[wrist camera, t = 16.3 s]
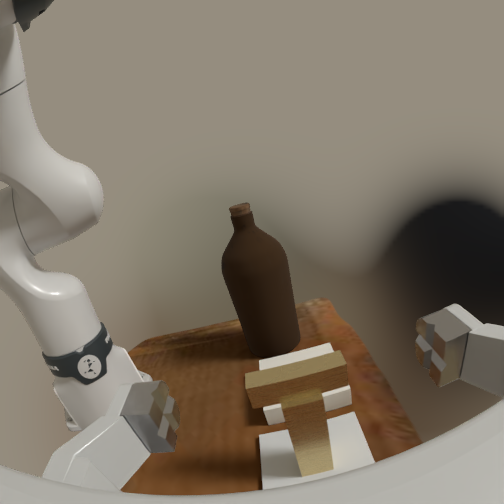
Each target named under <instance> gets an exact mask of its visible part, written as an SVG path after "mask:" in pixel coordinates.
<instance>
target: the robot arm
mask: <svg viewBox="0 0 504 504" xmlns="http://www.w3.org/2000/svg"><path fill="white" fill-rule="evenodd" d="M53 1H54V0H0V181H2V182H4V183H6V184H8V185H9V186H8V187H6V188H4V189H2V190H0V289H1V290H2V291H4V292H5V293H6V294H7V295H8V296H9V297H10V299H11V300H12V301H13V302H14V303H15V305H16V306H17V307H18V308H19V310H20V312H21V313H22V315H23V316H24V318H25V320H26V322H27V323H28V325H29V327H30V329H31V330H32V332H33V334H34V336H35V338H36V340H37V341H38V343H39V345H40V347H41V349H42V350H43V352H42V355H43V357H44V359H45V362H46V364H47V366H48V367H49V368H50V370H51V372H52V373H53V374H54V375H55V380H54V382H53V387H54V388H53V389H54V392H55V393H56V395H57V397H58V398H59V400H60V401H61V403H62V404H63V406H64V409H65V417H66V424H67V427H68V429H69V430H70V431H81V430H83V431H82V432H80V433H79V434H78V435H76V436H75V437H74V438H72V439H71V440H70V441H68V442H67V443H66V444H64V445H63V446H61V447H60V448H59V449H57V450H56V451H55V452H54V453H53V455H52V457H51V459H50V461H49V463H48V465H47V467H46V469H45V471H44V474H43V475H42V478H41V477H38V476H34V475H31V474H27V473H24V472H21V471H18V470H15V469H12V468H8V467H6V466H3V465H0V504H504V326H499V325H493V324H488V323H487V324H485V325H483V324H482V323H481V322H480V321H479V320H477V319H476V318H475V317H474V316H472V315H471V314H470V313H468V312H467V311H466V310H465V309H463V308H462V307H461V306H460V305H458V304H453V305H450V306H449V307H446V308H444V309H442V310H440V311H437V312H435V313H432V314H430V315H427V316H425V317H422V318H420V319H418V321H417V324H416V331H417V332H418V333H419V334H420V335H419V336H418V338H417V340H416V341H415V350H416V355H417V358H418V361H419V362H420V364H421V365H422V367H424V368H427V369H430V373H429V376H430V377H431V378H432V380H433V381H434V382H435V383H436V385H437V386H438V387H441V386H443V385H446V384H448V383H450V382H452V381H454V380H456V379H459V378H460V379H461V380H463V381H465V382H468V383H470V384H472V385H474V386H477V387H479V388H481V389H483V390H486V391H488V392H490V393H493V394H495V395H497V396H500V397H502V399H501V401H500V402H498V403H497V404H495V405H494V406H492V407H490V408H489V409H487V410H486V411H484V412H482V413H481V414H479V415H477V416H475V417H474V418H472V419H470V420H469V421H467V422H465V423H463V424H462V425H459V426H458V427H456V428H454V429H452V430H450V431H448V432H446V433H444V434H442V435H440V436H438V437H436V438H434V439H432V440H430V441H428V442H425V443H423V444H421V445H419V446H416V447H414V448H412V449H409V450H407V451H405V452H402V453H400V454H397V455H395V456H392V457H389V458H387V459H384V460H381V461H379V462H376V463H373V464H370V465H367V466H364V467H361V468H358V469H354V470H351V471H348V472H344V473H341V474H337V475H333V476H330V477H326V478H322V479H317V480H313V481H309V482H304V483H299V484H294V485H289V486H283V487H278V488H271V489H265V490H257V491H249V492H240V493H229V494H215V495H147V494H133V493H123V492H122V491H121V490H120V489H121V488H122V487H123V486H124V485H125V484H126V482H127V481H128V480H129V479H130V478H131V477H132V475H133V474H134V473H135V472H136V471H137V470H138V468H139V467H140V466H141V465H142V464H143V463H144V461H145V460H146V459H147V458H148V457H149V455H150V453H159V452H174V451H175V445H176V440H177V435H176V433H175V432H174V431H175V430H176V429H177V428H178V427H179V424H180V411H179V408H178V405H177V403H176V401H175V399H173V398H172V397H170V396H168V393H169V388H168V386H167V385H166V383H165V382H164V381H152V378H151V377H150V375H148V374H146V373H143V372H141V371H138V370H137V369H136V367H135V365H134V364H133V362H132V360H131V358H130V357H129V355H128V353H127V352H126V350H125V349H123V348H121V347H119V346H115V345H113V342H112V340H111V338H110V335H109V333H108V331H107V329H106V328H105V326H104V324H103V323H102V322H100V321H99V319H98V317H97V315H96V313H95V310H94V308H93V306H92V303H91V301H90V299H89V296H88V294H87V291H86V289H85V287H84V285H83V283H82V282H81V281H80V280H79V279H78V278H76V277H75V276H73V275H70V274H67V273H61V272H51V271H46V270H44V269H42V268H41V267H40V266H39V265H38V264H37V262H36V260H35V258H34V256H35V255H36V254H38V253H41V252H43V251H45V250H48V249H50V248H52V247H55V246H57V245H60V244H62V243H64V242H67V241H69V240H72V239H74V238H75V237H77V236H79V235H80V234H82V233H83V232H85V231H86V230H88V229H90V228H91V227H92V226H94V225H96V224H97V223H98V221H99V219H100V217H101V214H102V211H103V204H104V196H103V189H102V186H101V183H100V182H99V179H98V177H97V176H96V175H95V173H94V172H93V171H92V170H91V169H90V168H89V167H87V166H85V165H84V164H82V163H78V162H74V161H71V160H69V159H67V158H65V157H63V156H61V155H60V154H58V153H57V152H56V151H54V150H53V149H52V148H51V147H50V146H49V145H48V144H47V143H46V141H45V140H44V139H43V137H42V136H41V134H40V132H39V130H38V127H37V125H36V122H35V118H34V115H33V112H32V108H31V104H30V99H29V95H28V89H27V83H26V75H25V69H24V62H23V57H22V52H21V47H20V42H19V38H18V34H17V30H16V26H15V23H17V22H19V24H20V26H21V28H22V30H23V32H25V31H26V30H27V29H29V27H30V21H32V20H33V19H34V18H36V17H37V16H39V15H40V14H42V13H43V12H44V11H45V10H46V9H47V8H48V7H49V6H50V4H51V3H52V2H53Z"/></svg>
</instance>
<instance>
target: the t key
mask: <svg viewBox="0 0 504 504" xmlns="http://www.w3.org/2000/svg"><path fill="white" fill-rule="evenodd" d="M348 385H349V384H348V373H347V364H346V362H345V360H344V358H343V356H342V354H341V352H340V350H338V351H335V352H331V353H328V354H324V355H321V356H317V357H313V358H310V359H306V360H302V361H298V362H294V363H290V364H286V365H282V366H277V367H273V368H269V369H264V370H260V371H255V372H250V373H245V386H246V391H247V394H248V397H249V399H250V402H251V405H252V407H253V409H256V408H261V407H266V406H271V405H275V404H280V403H281V408H282V412H283V415H284V419H285V422H286V425H287V429H288V432H289V435H290V439H291V442H292V445H293V448H294V452H295V455H296V458H297V461H298V465H299V468H300V471H301V474H302V477H305V476H309V475H313V474H318V473H322V472H326V471H329V470H333V469H334V467H333V459H332V452H331V445H330V438H329V431H328V424H327V418H326V412H325V405H324V399H323V396H322V393H324V392H328V391H332V390H335V389H338V388H342V387H345V386H348Z"/></svg>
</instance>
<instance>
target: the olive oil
mask: <svg viewBox="0 0 504 504" xmlns="http://www.w3.org/2000/svg"><path fill="white" fill-rule="evenodd" d="M229 210H230V212H231V220H232V224H233V227H234V234H233V236H232V238H231V240H230V242H229V243H228V245H227V247H226V249H225V251H224V253H223V256H222V274H223V277H224V280H225V283H226V285H227V288H228V290H229V293H230V296H231V299H232V301H233V304H234V307H235V309H236V312H237V315H238V318H239V321H240V323H241V326H242V329H243V332H244V335H245V337H246V340H247V343H248V346H249V349H250V351H251V352H252V353H253V354H255V355H257V356H260V357H276V356H280V355H283V354H285V353H288V352H289V351H291V350H292V349H294V348H295V347H296V346H297V345H298V343H299V341H300V331H299V325H298V320H297V314H296V309H295V303H294V296H293V290H292V284H291V278H290V273H289V266H288V260H287V256H286V253H285V251H284V249H283V247H282V246H281V244H280V243H279V242H278V241H277V240H276V239H274V238H273V237H271V236H270V235H268V234H267V233H265V232H264V231H262V230H261V229H259V228H258V227H256V225H255V223H254V218H253V214H252V211H250V205H249V203H242V204H238V205H235V206H232V207H230V208H229Z"/></svg>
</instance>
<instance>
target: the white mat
mask: <svg viewBox="0 0 504 504" xmlns="http://www.w3.org/2000/svg"><path fill="white" fill-rule="evenodd" d="M327 424H328V431H329V438H330V445H331V452H332V459H333V467H334V469H333V470H329V471H326V472H322V473H318V474H313V475H309V476H305V477H302V474H301V471H300V468H299V465H298V461H297V458H296V455H295V452H294V448H293V445H292V442H291V439H290V435H289V432H288V429H287V430H283V431H278V432H273V433H268V434H262V435H259V440H260V455H261V469H262V483H263V490H265V489H271V488H278V487H283V486H289V485H294V484H299V483H304V482H309V481H313V480H317V479H322V478H326V477H330V476H333V475H337V474H341V473H344V472H348V471H351V470H354V469H358V468H361V467H364V466H367V465H370V464H373V463H375V462H374V459H373V457H372V454H371V452H370V449H369V447H368V444H367V442H366V439H365V437H364V434H363V432H362V430H361V427H360V425H359V422H358V420H357V417H356V415H355V413H354V412H351V413H348V414H345V415H342V416H338V417H335V418H331V419H328V420H327Z"/></svg>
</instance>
